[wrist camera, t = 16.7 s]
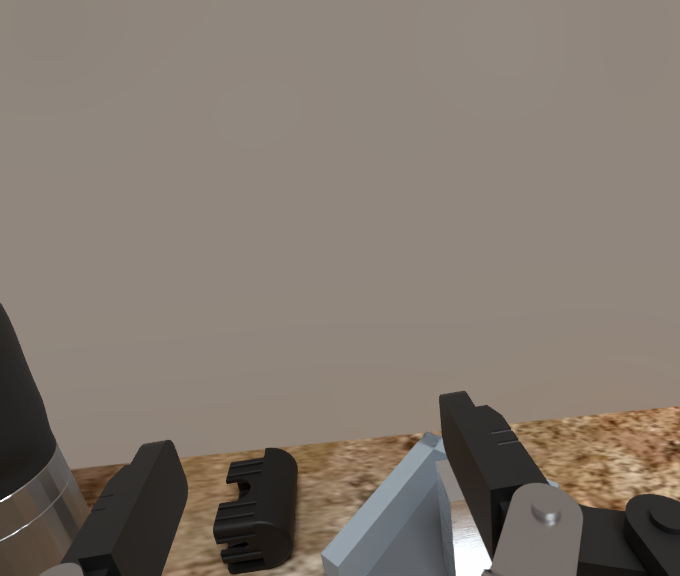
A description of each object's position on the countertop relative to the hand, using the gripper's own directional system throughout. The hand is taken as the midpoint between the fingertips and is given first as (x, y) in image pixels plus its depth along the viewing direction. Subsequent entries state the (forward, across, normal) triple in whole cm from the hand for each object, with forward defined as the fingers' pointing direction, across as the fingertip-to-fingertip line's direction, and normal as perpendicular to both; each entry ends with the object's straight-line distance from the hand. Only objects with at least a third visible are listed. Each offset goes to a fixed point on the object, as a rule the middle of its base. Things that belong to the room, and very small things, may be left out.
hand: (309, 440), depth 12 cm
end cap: (+24, +10, +30) cm, 40 cm away
